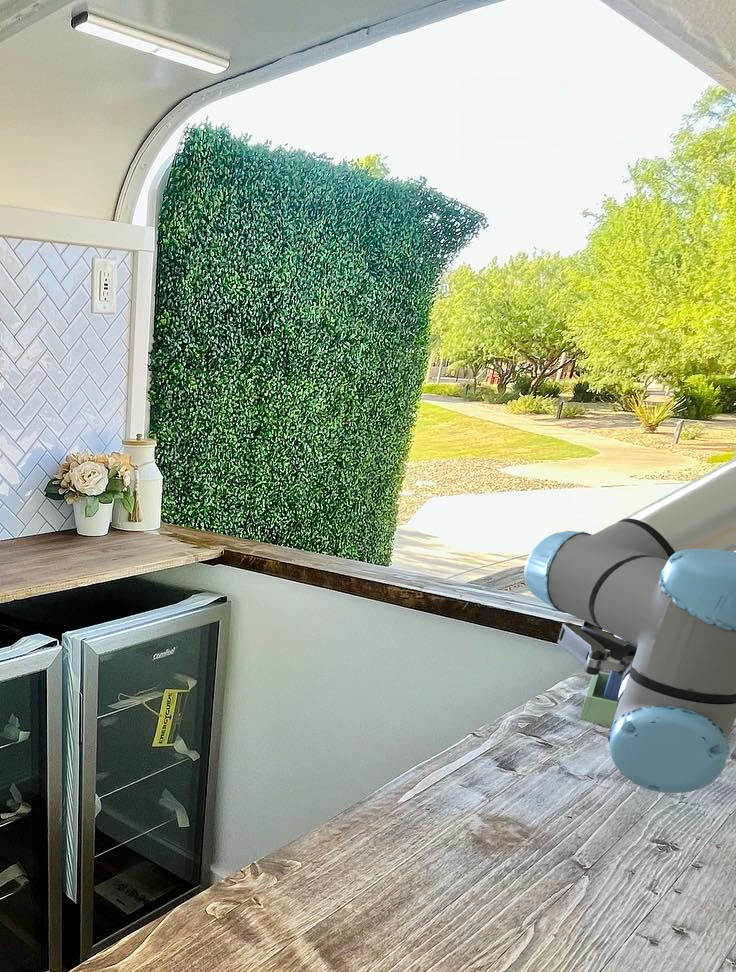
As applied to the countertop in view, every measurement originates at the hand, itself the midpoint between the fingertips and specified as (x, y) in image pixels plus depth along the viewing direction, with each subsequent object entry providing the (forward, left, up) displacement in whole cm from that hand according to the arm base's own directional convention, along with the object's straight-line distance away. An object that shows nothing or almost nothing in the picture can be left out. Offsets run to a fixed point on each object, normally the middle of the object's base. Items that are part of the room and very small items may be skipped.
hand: (672, 633), depth 88 cm
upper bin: (0, -20, -19) cm, 28 cm away
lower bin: (0, -20, -19) cm, 28 cm away
